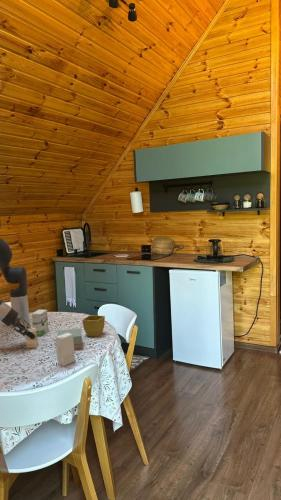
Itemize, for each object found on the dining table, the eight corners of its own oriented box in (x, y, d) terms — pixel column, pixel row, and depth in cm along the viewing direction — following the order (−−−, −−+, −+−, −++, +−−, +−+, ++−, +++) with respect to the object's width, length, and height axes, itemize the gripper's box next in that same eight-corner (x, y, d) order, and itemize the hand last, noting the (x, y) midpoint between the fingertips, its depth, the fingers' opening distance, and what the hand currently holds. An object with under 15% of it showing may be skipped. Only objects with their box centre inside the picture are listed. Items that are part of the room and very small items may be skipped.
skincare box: (68, 359, 162) (66, 331, 161) (75, 361, 160) (73, 333, 158) (57, 364, 158) (54, 336, 156) (64, 366, 155) (61, 338, 153)
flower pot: (90, 331, 197) (89, 314, 196) (106, 332, 194) (105, 315, 193) (82, 337, 189) (81, 319, 188) (98, 338, 186) (97, 320, 185)
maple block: (27, 345, 182) (26, 329, 181) (37, 343, 183) (36, 327, 182) (26, 348, 178) (25, 332, 177) (37, 347, 178) (35, 330, 177)
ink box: (41, 336, 194) (40, 313, 192) (33, 336, 195) (31, 313, 193) (49, 330, 202) (47, 309, 201) (40, 330, 203) (38, 308, 202)
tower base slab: (58, 345, 182) (58, 337, 181) (81, 342, 184) (81, 335, 183) (58, 353, 171) (57, 346, 171) (82, 350, 173) (82, 343, 173)
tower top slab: (58, 337, 182) (57, 330, 181) (81, 335, 183) (81, 328, 183) (57, 345, 171) (56, 338, 170) (82, 343, 173) (81, 335, 172)
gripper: (8, 311, 169) (38, 334, 173) (13, 303, 183) (40, 325, 187) (-3, 324, 169) (27, 347, 173) (2, 315, 183) (30, 336, 187)
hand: (34, 335), depth 180 cm, fingers closed on maple block, 4 cm apart
